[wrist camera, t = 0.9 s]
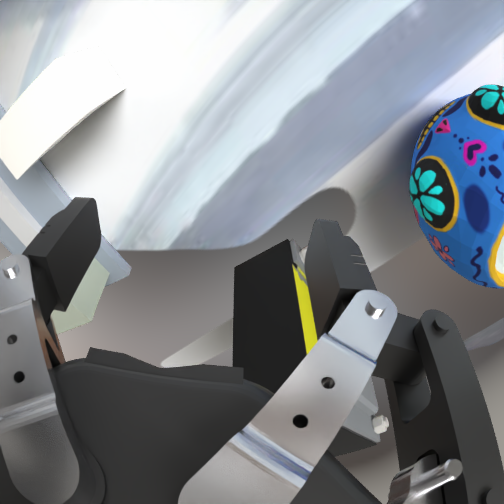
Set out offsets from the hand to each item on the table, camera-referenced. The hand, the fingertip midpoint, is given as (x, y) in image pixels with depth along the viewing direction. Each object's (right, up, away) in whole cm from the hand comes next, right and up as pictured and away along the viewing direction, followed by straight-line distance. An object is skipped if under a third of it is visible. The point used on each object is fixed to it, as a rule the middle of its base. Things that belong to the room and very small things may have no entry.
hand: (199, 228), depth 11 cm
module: (-15, +14, +13) cm, 24 cm away
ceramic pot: (+24, +10, +17) cm, 31 cm away
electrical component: (+8, -6, +30) cm, 32 cm away
